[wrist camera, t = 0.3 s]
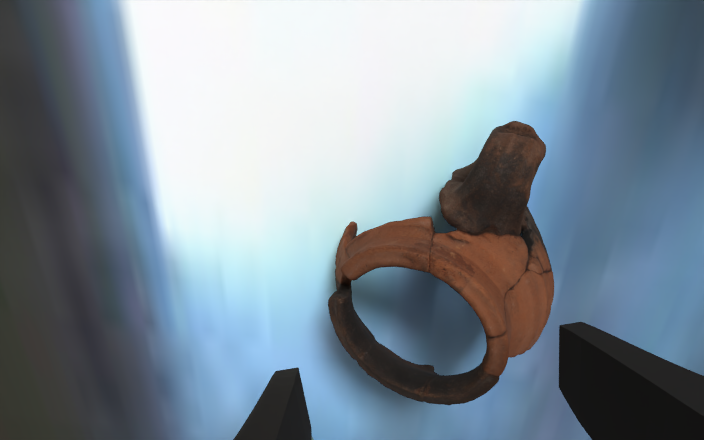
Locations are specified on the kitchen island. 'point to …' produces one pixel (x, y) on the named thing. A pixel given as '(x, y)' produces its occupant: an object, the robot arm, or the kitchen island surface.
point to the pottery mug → (460, 268)
